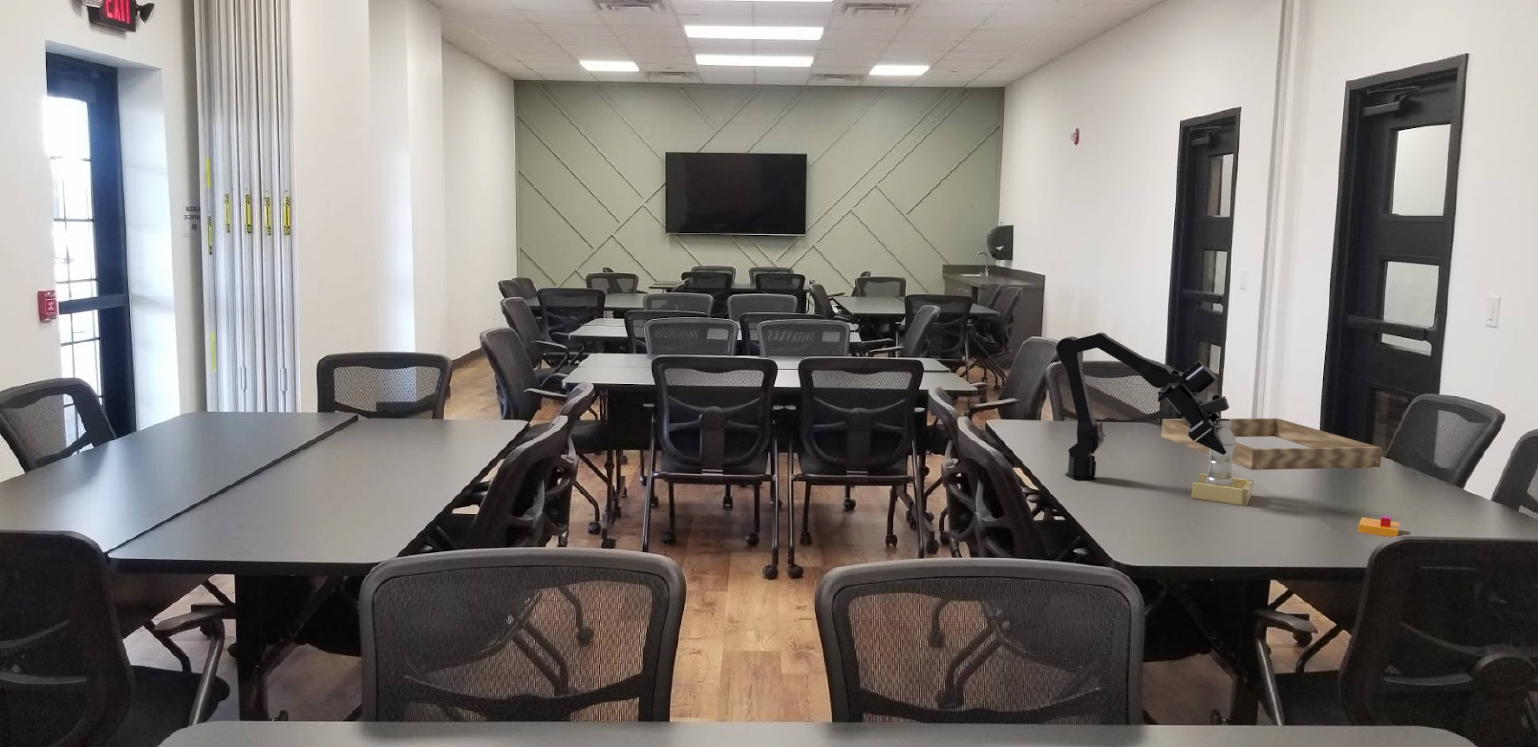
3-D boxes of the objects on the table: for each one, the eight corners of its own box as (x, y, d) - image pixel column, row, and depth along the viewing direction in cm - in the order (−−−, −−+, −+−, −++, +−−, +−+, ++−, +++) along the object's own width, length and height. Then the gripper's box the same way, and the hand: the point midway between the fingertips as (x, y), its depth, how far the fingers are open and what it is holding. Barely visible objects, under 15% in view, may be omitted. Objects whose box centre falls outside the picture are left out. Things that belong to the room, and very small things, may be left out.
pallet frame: (1251, 469, 320) (1252, 449, 319) (1161, 436, 368) (1162, 419, 367) (1379, 467, 328) (1382, 447, 328) (1275, 435, 376) (1277, 418, 375)
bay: (1191, 498, 284) (1192, 483, 284) (1198, 487, 296) (1199, 473, 295) (1246, 505, 278) (1247, 490, 277) (1251, 495, 289) (1253, 480, 289)
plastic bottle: (1229, 499, 283) (1235, 422, 280) (1202, 495, 286) (1207, 419, 284) (1234, 494, 288) (1239, 419, 285) (1207, 490, 292) (1212, 416, 289)
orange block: (1358, 533, 256) (1359, 515, 256) (1360, 526, 263) (1362, 508, 263) (1397, 539, 252) (1399, 521, 252) (1399, 531, 259) (1401, 514, 258)
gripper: (1206, 389, 277) (1249, 437, 273) (1215, 381, 293) (1256, 426, 289) (1170, 416, 282) (1212, 464, 278) (1182, 406, 298) (1222, 451, 294)
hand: (1227, 450), depth 285 cm, fingers open, 9 cm apart
